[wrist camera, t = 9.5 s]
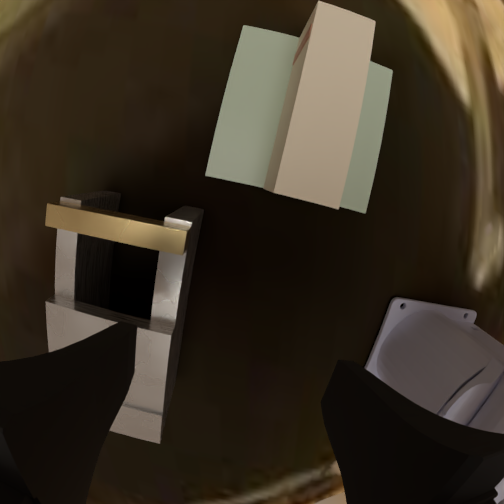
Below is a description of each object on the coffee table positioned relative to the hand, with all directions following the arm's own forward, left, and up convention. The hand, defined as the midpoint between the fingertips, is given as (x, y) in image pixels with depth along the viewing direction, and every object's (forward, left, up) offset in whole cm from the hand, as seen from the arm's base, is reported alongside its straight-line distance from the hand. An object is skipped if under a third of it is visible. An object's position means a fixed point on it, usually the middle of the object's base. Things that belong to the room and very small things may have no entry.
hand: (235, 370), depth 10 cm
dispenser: (+6, +2, -10) cm, 12 cm away
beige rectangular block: (-2, -11, -9) cm, 14 cm away
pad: (-2, -11, -10) cm, 15 cm away
